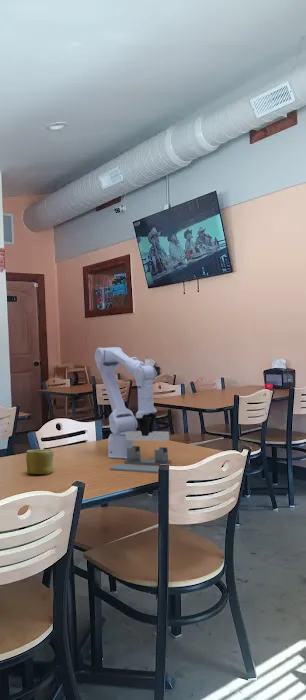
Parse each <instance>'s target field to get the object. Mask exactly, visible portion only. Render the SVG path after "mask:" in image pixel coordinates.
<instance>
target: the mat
mask: <svg viewBox="0 0 306 700" xmlns="http://www.w3.org/2000/svg"><path fill="white" fill-rule="evenodd" d="M158 466H159V465H142V464H126V463H117V464H115V465H113V466H111V467H110V468H109V471H122V472H137V473H151V474H152V473H154V474H158V473H159V472H158ZM157 472H158V473H157Z"/></svg>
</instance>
